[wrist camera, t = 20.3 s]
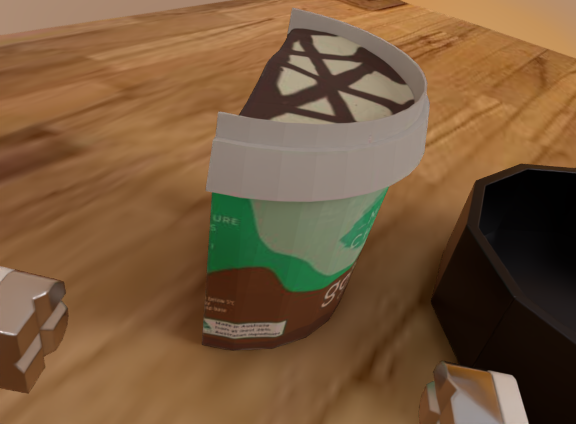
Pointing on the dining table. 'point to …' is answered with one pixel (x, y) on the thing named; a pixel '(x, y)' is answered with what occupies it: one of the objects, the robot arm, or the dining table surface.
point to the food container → (305, 179)
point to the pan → (516, 285)
